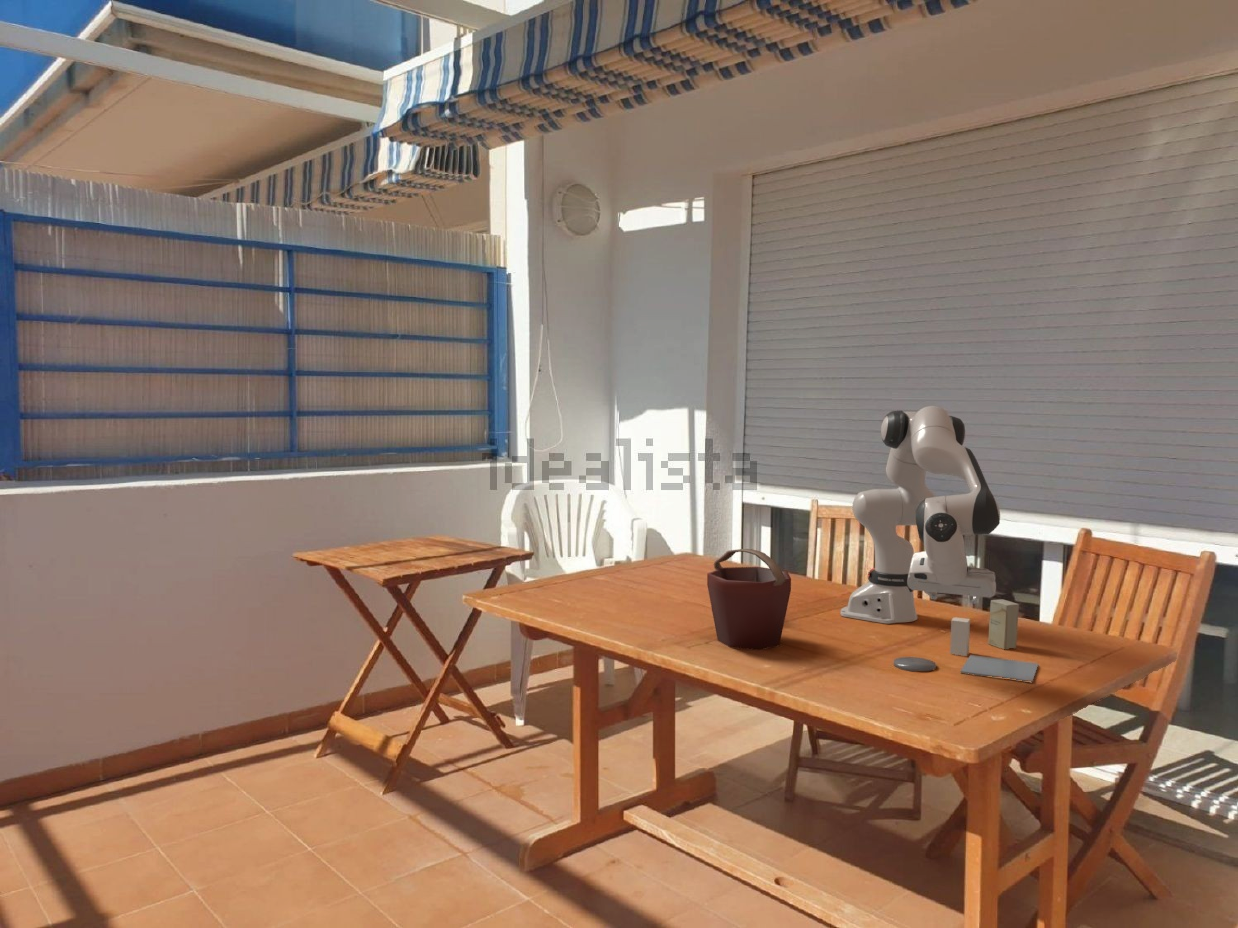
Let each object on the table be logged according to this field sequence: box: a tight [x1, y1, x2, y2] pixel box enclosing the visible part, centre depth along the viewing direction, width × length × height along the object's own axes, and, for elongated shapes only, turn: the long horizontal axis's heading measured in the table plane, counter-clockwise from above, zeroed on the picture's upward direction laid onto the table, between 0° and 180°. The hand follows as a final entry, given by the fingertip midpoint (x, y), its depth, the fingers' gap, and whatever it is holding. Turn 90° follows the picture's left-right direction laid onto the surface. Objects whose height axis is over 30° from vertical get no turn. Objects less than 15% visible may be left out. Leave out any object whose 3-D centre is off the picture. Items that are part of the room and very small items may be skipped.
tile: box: [959, 654, 1039, 682], centre depth 230 cm, size 16×16×1 cm
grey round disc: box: [893, 656, 937, 672], centre depth 233 cm, size 10×10×1 cm
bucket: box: [706, 548, 792, 651], centre depth 255 cm, size 24×22×25 cm
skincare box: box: [987, 598, 1020, 650], centre depth 250 cm, size 6×4×12 cm
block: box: [949, 616, 971, 657], centre depth 243 cm, size 4×4×9 cm
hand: (953, 599), depth 232 cm, fingers open, 8 cm apart
